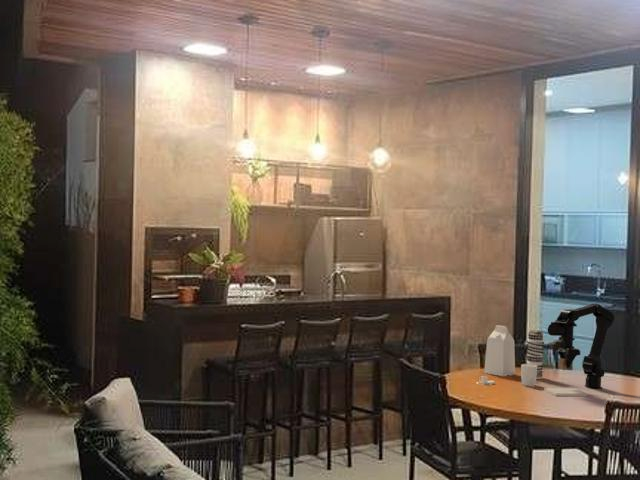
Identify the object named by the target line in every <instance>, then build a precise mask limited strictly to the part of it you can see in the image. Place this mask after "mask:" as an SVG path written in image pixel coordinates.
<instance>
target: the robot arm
mask: <svg viewBox="0 0 640 480" xmlns="http://www.w3.org/2000/svg"><path fill="white" fill-rule="evenodd" d="M588 315H592V316H594V317H595V324H596V330H595V333H594V336H593V340H592V343H591V348H590V350H589V354H588V355H584V357H583V359H582V360H583V361H582V363H581V364H582V365H581V366H582V369H583V374H584V375H586V377H585V384H584V387H586V388H589V389H603V387H602V377H605V371H604V370H603V368H602V360H601V358H600V357H601V353H602V350H603V345H604V342H605V338H606V335H607V331H608V330H609V329H610V328H611V326H613V322H614V320H615V315H614V313H613V312H612V311H610V310H609V309H606V308H605V307H603V306H602V305H601V304H599V303H590V304H588V305H585V306H582V307H577V308H569V309H565V308H564V309H562V310H561V311H560V313H559V315H558V316H557V317H556V319H555V321H551V322H550V324H549V325H548V327H547V333H548V335H549V336H552V337H554V336H557V337H558V339H557V340H553V341H550V342H548V346H549V348H550V350H552V351H555V353H557V354H558V355H559V358H566V366H567V368H569V367H570V365H571V364H572V362H573V363H574V360H575V359H576V357H577V356H581V350H580V349H578V348H576V347H575V346H573V345H574V341H575V337H574V327H578V324H577V323H576V321H578V320H579V319H580V318H582V317H585V316H588Z"/></svg>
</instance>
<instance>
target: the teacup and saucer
mask: <svg viewBox="0 0 640 480" xmlns="http://www.w3.org/2000/svg"><path fill="white" fill-rule="evenodd" d="M480 378H481V379H480ZM478 380H479V381H477V382H476V384H477V385H482V386H483V385H488V386H492V385H493V384H495V380H488V376H487V375H481V376H479V377H478ZM479 382H480V383H481V384H480V383H479ZM478 383H479V384H478Z"/></svg>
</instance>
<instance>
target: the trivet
mask: <svg viewBox="0 0 640 480" xmlns="http://www.w3.org/2000/svg"><path fill="white" fill-rule="evenodd" d="M544 392H546V393H548V394H550V395H552V396H555V397H587V396H588V393H587V392H585V391H583V390H580V389H578V388H575V387H574V388H571V387H569V388H565V387H563V388H561V387H559V388H558V387H557V388H555V387H554V388H553V387H549V388H548V387H546V388H544Z"/></svg>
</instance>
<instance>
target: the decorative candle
mask: <svg viewBox="0 0 640 480" xmlns="http://www.w3.org/2000/svg"><path fill="white" fill-rule="evenodd" d="M527 334H528V338H527V340H526V350H527V351H526V356H527V360H526V364H532V365H537V376H536V380H541V379H543V373H544V371H543V370H544V369H543V366H544V365H543V357H544V355H543V354H545V353H544V347H545V342H544V333H543V332H542V331H541V330H535V329H534V330H533V329H531V330H529V332H528V333H527Z"/></svg>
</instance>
